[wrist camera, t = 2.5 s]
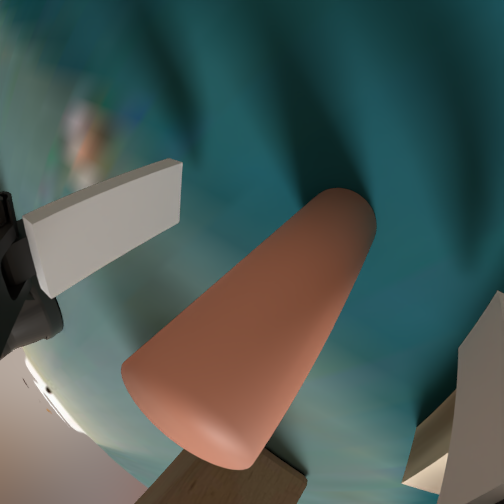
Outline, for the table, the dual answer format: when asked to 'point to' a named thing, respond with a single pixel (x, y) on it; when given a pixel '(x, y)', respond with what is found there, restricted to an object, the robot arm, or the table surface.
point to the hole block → (431, 449)
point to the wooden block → (226, 483)
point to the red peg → (253, 334)
